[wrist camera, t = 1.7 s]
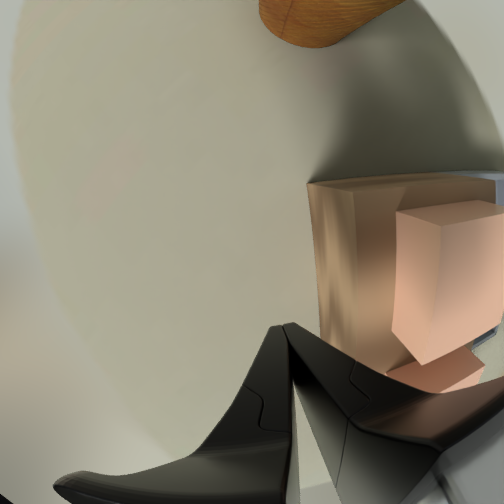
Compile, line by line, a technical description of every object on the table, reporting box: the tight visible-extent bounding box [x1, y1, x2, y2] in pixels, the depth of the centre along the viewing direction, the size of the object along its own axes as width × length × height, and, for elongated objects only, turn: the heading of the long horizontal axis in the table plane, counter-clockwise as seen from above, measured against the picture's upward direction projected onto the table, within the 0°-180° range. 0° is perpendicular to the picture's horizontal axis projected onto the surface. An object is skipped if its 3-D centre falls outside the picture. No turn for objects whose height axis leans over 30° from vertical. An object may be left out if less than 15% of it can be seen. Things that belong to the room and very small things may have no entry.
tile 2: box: [392, 200, 504, 365], centre depth 10 cm, size 6×6×3 cm
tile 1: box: [385, 345, 485, 393], centre depth 12 cm, size 6×6×3 cm
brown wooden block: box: [307, 172, 496, 375], centre depth 16 cm, size 17×10×7 cm, turn 9°
